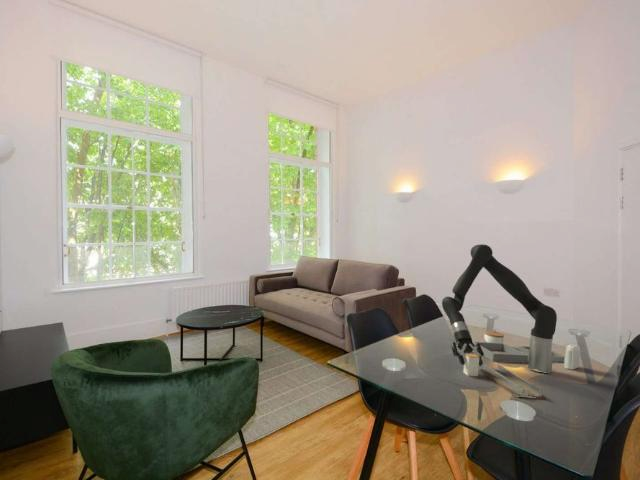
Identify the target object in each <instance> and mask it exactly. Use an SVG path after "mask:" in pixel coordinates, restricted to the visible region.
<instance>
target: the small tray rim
mask: <svg viewBox="0 0 640 480" xmlns="http://www.w3.org/2000/svg"><path fill="white" fill-rule="evenodd" d="M529 349H530V345H529V346H526V345H519V346H518V351H520V352H522V353H524V354H526V355H528V357H529ZM551 353H552V354H553V361H552V363H553V362H554V363H555V362H556V363H564V359H565V355H563V354H559V353H558V352H555V351H553V350H552V351H551Z"/></svg>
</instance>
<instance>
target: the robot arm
mask: <svg viewBox="0 0 640 480" xmlns="http://www.w3.org/2000/svg"><path fill="white" fill-rule="evenodd" d="M493 253H494V252H493V249H492V248H491V246H489V245H488V244H477V245H473V246H472V247H471V249H470V256H471V261H470V262H469V265H468V266H467V267H466V269H465V270H464V271H463V272H462V274H460V276H459V278H458V279H457V281H456V282H455V284H454V286H453V288H452V293H453V294H454V297H451V296H444V298H443V299H442V301H441V305H442V309H443V311H444V313H445V314H446V316H447V317H448V319H449V322H450V326H451V330H452V334H453V337H454V340H455V341H453V342H452V343H451V344H450V347H451V351H452V354H453V356H454V357H457V358H458V360H459V363H460V364H461V366H464V364H465V361H464V359H465V357H464V356H463V354H476V355H477V356H479V367H482V366H483V364H484V361H483V360H482V359H483V357H484V353H483V351H482V348H481V346H480V344H479V343H478V344H473V342H474V341H473V338H472V335H471V333H470V330H469V327H468V325H467V322H466V320H465V317H464V315H463V314H462V313H461V312H460V311H461V310H462V308H463V307H464V303H465V300H466V299H465V298H466V295H467V293H468V292H469V291H470V288H471V287H472V285H473V283H474V281H475V280H476V278H477V277H478V275H479V273H480V272H481V271H482V270H483V268H484V269H485V270H486V271H487V272H488V273H489V275H491V277H492V278H493V279H494V280H495V281H496V282H497V283H498V284H499V285H500V286H501V287H502V288H503V289H504V291H505V292H507V293H508V294H509V295H510V296H511V297H513V298H514V299H515V301H517V302H519V303H520V305H522V306H523V308H524V309H525V310H526V311H527V313H528V314H529V315H530V316H531V317H532V318H533V320H535V321H534V326H533V328H532V329H530V337H529V339H530V340H529V346H530V349H529V356H528V363H527V369H529V368H530V369H537V370H539V371H542V372H546V373H548V374H551V373H552V371H553V369H552V368H553V362H552V361H553V354H552V353H551V351H553V339H554V338H553V337H554V335H555V334H556V330H557V329H556V327H557V320H558V315H557V312H556V310H555V309H554V308H553V307H552V306H549V305H546V304H544V303H543V302H541V300H539V299H538V298H537V297H536V296H534V295H533V293H532V292H531V291H530V290H529V288H528V286H527V285H526V283H525V282H524V281H523V280H522V279H521V278H520V277H519V276H518V275H517V274H516V273H515V272H514V271H513V270H511V269H510V268H508V267H507V266H505V265H504V264H502V263H501V262H499V261H498V260H497V259H496V258H495V257H494V256H493ZM474 347H475V348H474ZM458 349H459V350H458ZM530 369H529V370H530Z"/></svg>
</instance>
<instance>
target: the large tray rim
mask: <svg viewBox="0 0 640 480" xmlns="http://www.w3.org/2000/svg"><path fill="white" fill-rule="evenodd" d="M472 342H473V344H478V343H479V344H480V346H481V348H482V351H483V353H484V355H483V357H486V358H487V359H489V360H490V361H492V362H500V361H506V362H505V363H520V362H528V360H529V356H528V355H526V354H524V353H522V352H520V351H519V349H515V348H514V347H512V346H510V345H507V344H505V343H504V342H503V343H488V342H486V341H472ZM474 348H475V347H474ZM493 351H501V352H502V351H503V352H504V353H499V352H498V353H497V352H493Z"/></svg>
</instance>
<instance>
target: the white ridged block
mask: <svg viewBox="0 0 640 480" xmlns="http://www.w3.org/2000/svg"><path fill="white" fill-rule="evenodd" d="M580 354H581V347H580V346H579V345H577V344H575V343H574V344H573V343H571V344H569V345H567V346H566V347H565V349H564V356H565V359H564V362H563V367H564V369H566V370H575V369H578V368H579V367H580V356H581V355H580Z"/></svg>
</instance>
